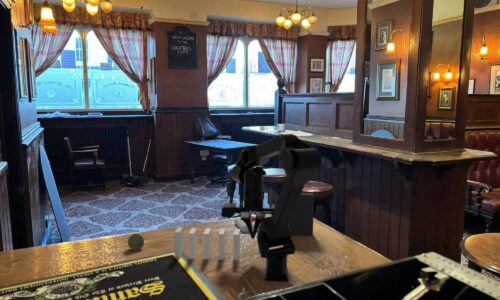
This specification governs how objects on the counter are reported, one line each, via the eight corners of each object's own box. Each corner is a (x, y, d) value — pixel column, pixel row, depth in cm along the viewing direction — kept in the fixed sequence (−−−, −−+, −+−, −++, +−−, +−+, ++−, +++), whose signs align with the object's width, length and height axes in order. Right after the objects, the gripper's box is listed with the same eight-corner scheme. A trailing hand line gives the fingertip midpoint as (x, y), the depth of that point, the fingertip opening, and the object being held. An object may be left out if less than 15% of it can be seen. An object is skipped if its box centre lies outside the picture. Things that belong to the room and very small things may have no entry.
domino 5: (238, 260, 114) (238, 234, 113) (233, 260, 115) (233, 234, 114) (239, 253, 119) (240, 229, 118) (234, 253, 119) (234, 228, 118)
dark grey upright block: (312, 232, 139) (313, 192, 137) (312, 236, 135) (314, 195, 133) (282, 231, 140) (282, 191, 138) (281, 235, 136) (282, 194, 134)
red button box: (268, 220, 141) (242, 222, 138) (268, 231, 141) (242, 234, 138) (258, 211, 152) (233, 213, 149) (258, 221, 153) (233, 223, 150)
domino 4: (223, 259, 115) (223, 234, 114) (218, 259, 115) (218, 234, 114) (225, 253, 120) (225, 228, 119) (220, 253, 120) (220, 228, 119)
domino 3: (208, 259, 115) (208, 233, 114) (203, 259, 115) (203, 233, 114) (211, 252, 120) (211, 228, 119) (206, 252, 120) (206, 228, 119)
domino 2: (194, 259, 115) (193, 233, 114) (188, 258, 115) (188, 233, 114) (197, 252, 120) (196, 228, 119) (192, 252, 120) (191, 227, 119)
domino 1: (179, 257, 116) (179, 232, 115) (174, 257, 116) (174, 232, 115) (183, 251, 121) (183, 227, 120) (178, 251, 121) (178, 226, 120)
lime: (146, 247, 124) (145, 232, 123) (135, 252, 120) (135, 237, 119) (135, 245, 126) (134, 230, 125) (124, 250, 121) (124, 235, 121)
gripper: (284, 182, 121) (283, 230, 123) (225, 181, 123) (225, 228, 124) (285, 191, 110) (284, 242, 112) (221, 189, 111) (221, 241, 113)
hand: (253, 238), depth 116 cm, fingers closed
